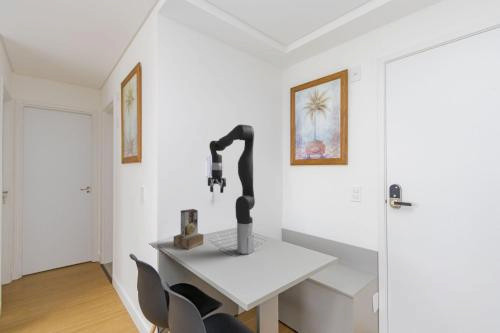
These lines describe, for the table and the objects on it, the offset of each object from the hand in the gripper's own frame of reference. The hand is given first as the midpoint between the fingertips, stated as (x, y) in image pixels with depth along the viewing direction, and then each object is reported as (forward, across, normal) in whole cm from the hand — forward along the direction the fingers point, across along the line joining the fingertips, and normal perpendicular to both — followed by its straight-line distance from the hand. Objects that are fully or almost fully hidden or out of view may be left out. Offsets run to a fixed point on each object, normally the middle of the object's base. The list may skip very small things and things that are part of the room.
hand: (216, 192), depth 167 cm
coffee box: (+26, +6, +20) cm, 34 cm away
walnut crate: (+32, +6, +20) cm, 38 cm away
